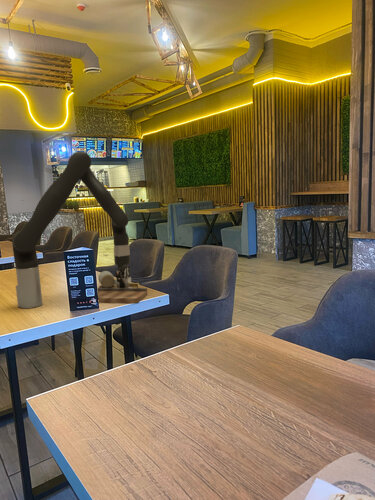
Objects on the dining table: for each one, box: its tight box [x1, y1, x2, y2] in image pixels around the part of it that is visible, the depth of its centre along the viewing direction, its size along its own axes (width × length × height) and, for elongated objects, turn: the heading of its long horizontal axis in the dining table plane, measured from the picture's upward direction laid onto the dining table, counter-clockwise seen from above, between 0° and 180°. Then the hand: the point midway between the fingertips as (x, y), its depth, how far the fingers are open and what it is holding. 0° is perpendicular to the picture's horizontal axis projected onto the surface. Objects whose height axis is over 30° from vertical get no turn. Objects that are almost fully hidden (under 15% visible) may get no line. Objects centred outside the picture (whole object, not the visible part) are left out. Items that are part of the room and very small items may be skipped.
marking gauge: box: [115, 276, 140, 288], centre depth 187 cm, size 4×10×6 cm, turn 77°
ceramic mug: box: [97, 270, 117, 288], centre depth 199 cm, size 11×8×8 cm
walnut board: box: [97, 287, 148, 304], centre depth 174 cm, size 24×14×3 cm, turn 77°
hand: (124, 288), depth 188 cm, fingers closed on marking gauge, 4 cm apart
